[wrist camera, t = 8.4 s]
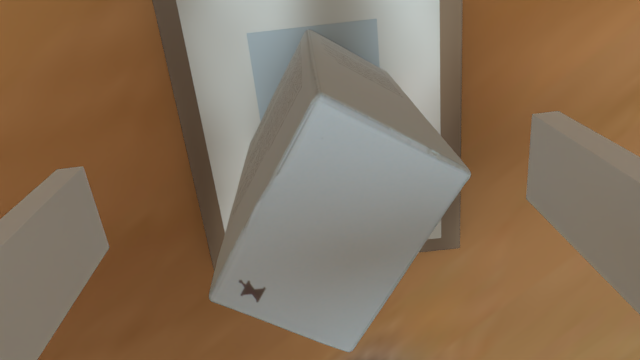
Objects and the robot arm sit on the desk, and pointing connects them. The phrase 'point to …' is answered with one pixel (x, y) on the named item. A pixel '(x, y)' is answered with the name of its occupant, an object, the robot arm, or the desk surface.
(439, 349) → the desk surface
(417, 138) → the skincare box
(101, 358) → the desk surface
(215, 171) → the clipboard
